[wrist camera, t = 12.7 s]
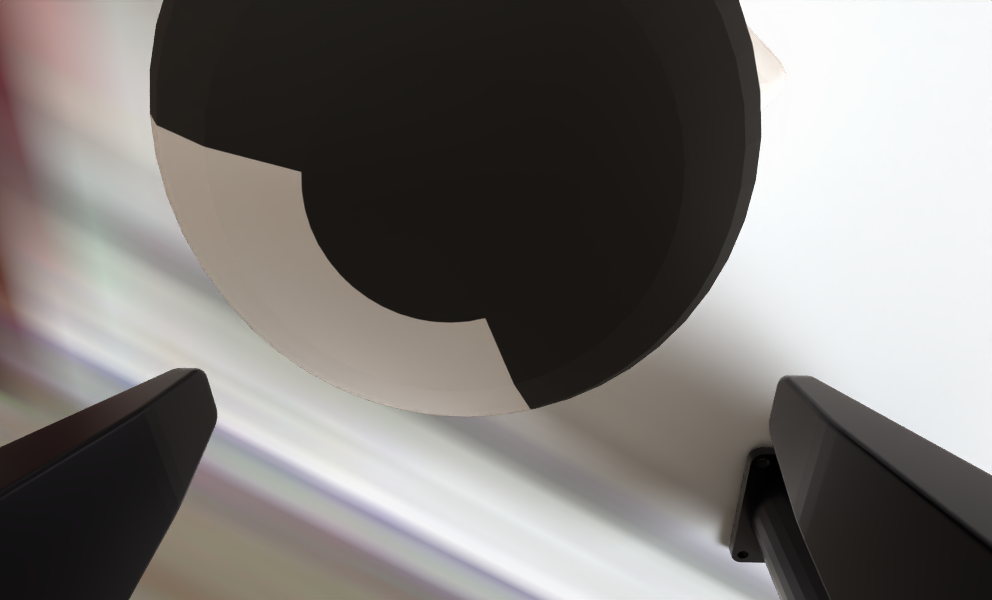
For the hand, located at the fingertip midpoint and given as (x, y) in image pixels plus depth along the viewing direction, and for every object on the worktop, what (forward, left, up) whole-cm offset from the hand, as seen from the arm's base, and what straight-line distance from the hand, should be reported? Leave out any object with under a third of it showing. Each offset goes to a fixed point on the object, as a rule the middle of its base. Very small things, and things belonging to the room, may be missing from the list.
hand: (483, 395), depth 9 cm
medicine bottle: (+4, 0, -10) cm, 11 cm away
